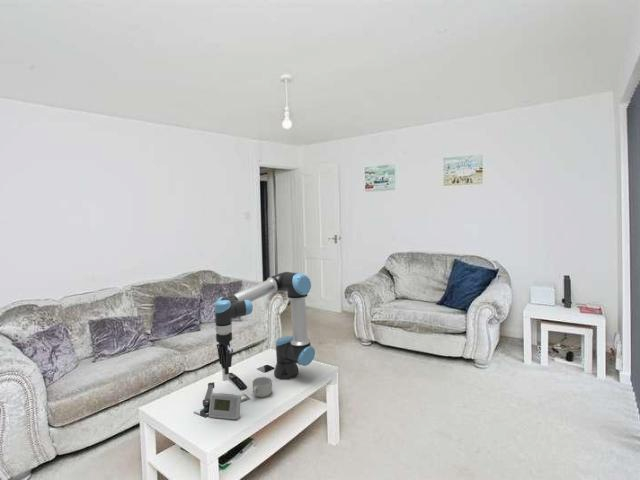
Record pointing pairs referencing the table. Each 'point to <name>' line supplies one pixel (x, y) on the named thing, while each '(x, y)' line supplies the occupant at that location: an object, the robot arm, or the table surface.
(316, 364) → the table surface
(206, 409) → the pivot post
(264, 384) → the teacup
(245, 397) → the label plate
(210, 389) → the swing arm
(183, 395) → the table surface
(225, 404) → the digital clock
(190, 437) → the table surface
